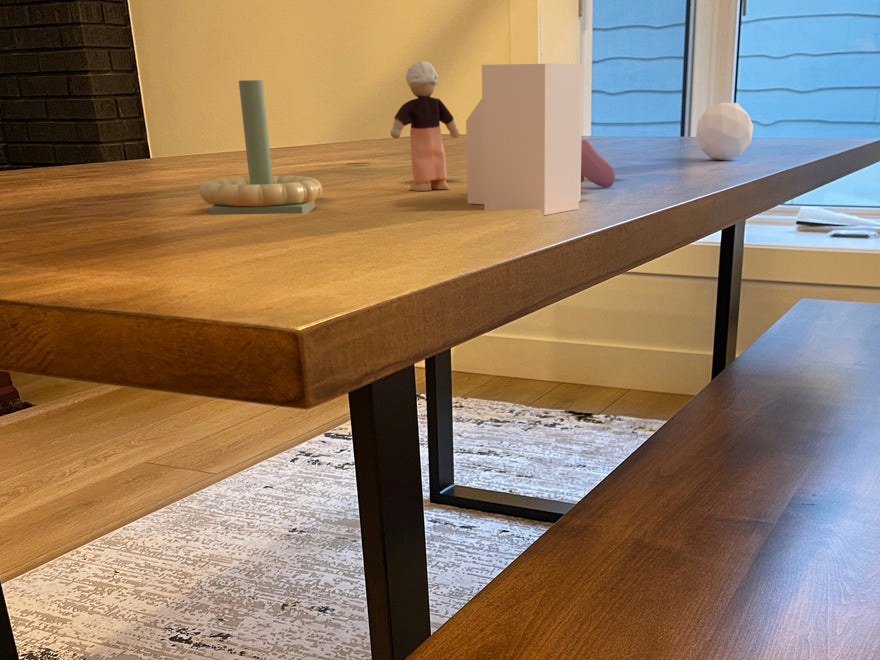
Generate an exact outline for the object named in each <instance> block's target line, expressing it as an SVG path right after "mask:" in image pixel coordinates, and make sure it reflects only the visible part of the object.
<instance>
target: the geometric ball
mask: <svg viewBox="0 0 880 660" xmlns="http://www.w3.org/2000/svg"><path fill="white" fill-rule="evenodd" d="M754 127H755V126H754V124H753V122H752V119H751V117H750V115H749V113H748V112H747V111H746V110H745V109H744V108H743V107H742V106H741V105H740V104H739V103H738V102H719V103H717V104H715V105H711V106H709V107H707V109H706V110H705V111H704V112H703V114H702V115H701V116H700V118H699V120H698V121H697V127H696V133H695V139H696V142H697V144H698V146H699V148H700V150H701V151H702V152H703V153H704V154H705V155H706V156H707V157H708V158H710V159H711V160H712V161H730V160H733V159H735V158H738V157H741V156H742V154H743V153H744V152H745V151H746V149H748V147H749V145H751V142H752V138H753V132H754Z"/></svg>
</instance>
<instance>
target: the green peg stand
mask: <svg viewBox="0 0 880 660" xmlns="http://www.w3.org/2000/svg"><path fill="white" fill-rule="evenodd" d="M238 88H239V97H240V105H241V116H242V124H243V130H244V131H243V134H244V142H245V143H244V144H245V151H246V162H247V170H248V171H247V172H248V176H249V180H250V185H262V184H273V179H272V176H273V171H272V160H271V151H270V140H269V131H268V121H267V112H266V111H267V110H266V101H265V91H264V81H263V79H259V80H258V79H257V80H255V79H254V80H253V79H252V80H250V79H249V80H248V79H244V80H241V79H240V80H238ZM315 202H316V201H315V200H314V201H310V202H305V203H300V204H291V205H281V206H263V207H234V206H219V205H211V206H210V207H208V208H207V210H208V215H209V216H216V215H217V216H220V215H221V216H222V215H224V216H225V215H228V216H230V215H274V214H275V215H280V214H281V215H283V214H285V215H286V214H291V215H292V214H309V213H311V212H312V211H313V210H314V209H315V208H316V203H315Z"/></svg>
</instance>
